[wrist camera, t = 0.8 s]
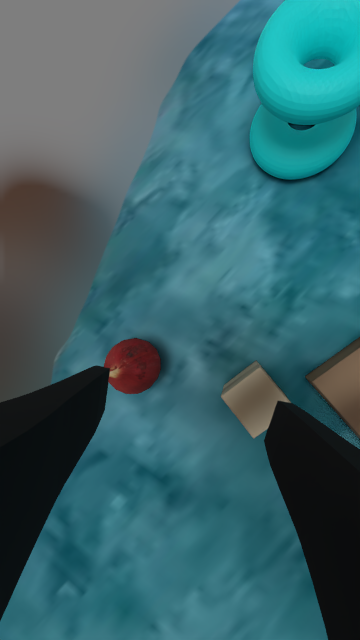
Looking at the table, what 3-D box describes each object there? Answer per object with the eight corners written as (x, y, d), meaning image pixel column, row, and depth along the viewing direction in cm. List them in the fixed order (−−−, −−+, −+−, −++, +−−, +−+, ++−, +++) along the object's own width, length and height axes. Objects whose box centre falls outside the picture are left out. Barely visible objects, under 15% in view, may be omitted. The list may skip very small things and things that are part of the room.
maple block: (284, 394, 25) (295, 409, 20) (250, 418, 26) (253, 438, 21) (256, 360, 26) (260, 367, 21) (224, 384, 27) (220, 396, 22)
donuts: (304, 129, 16) (228, 34, 18) (280, 203, 26) (232, 137, 28) (455, 20, 15) (355, -75, 16) (369, 144, 24) (312, 76, 26)
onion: (143, 328, 29) (109, 327, 22) (178, 358, 28) (155, 369, 20) (116, 363, 30) (73, 375, 22) (149, 395, 29) (116, 418, 21)
